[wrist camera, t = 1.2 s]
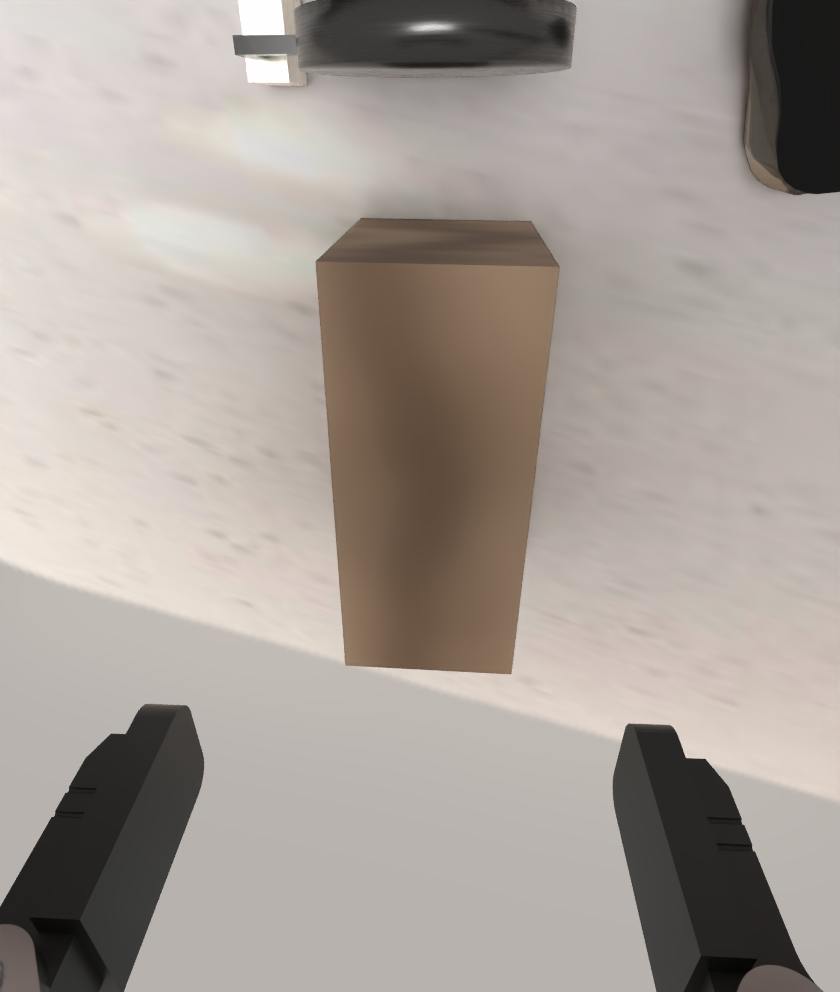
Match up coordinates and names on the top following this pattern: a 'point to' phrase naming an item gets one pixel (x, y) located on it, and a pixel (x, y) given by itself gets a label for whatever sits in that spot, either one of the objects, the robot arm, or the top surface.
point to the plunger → (423, 38)
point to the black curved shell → (794, 95)
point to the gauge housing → (271, 13)
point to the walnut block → (434, 433)
